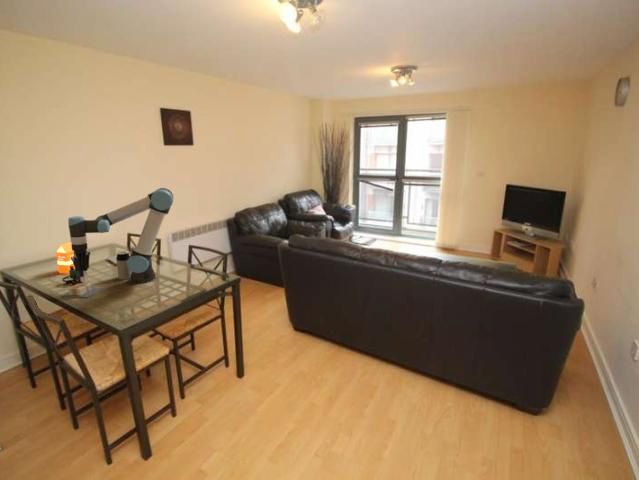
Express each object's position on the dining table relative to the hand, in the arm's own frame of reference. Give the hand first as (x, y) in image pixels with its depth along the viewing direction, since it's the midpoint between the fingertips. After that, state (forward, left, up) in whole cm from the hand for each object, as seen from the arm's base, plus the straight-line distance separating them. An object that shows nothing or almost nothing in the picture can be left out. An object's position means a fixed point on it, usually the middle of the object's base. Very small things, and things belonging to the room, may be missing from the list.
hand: (84, 281), depth 198 cm
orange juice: (+35, -32, -7) cm, 48 cm away
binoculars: (+16, -11, -7) cm, 21 cm away
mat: (0, +2, -7) cm, 7 cm away
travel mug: (-9, -25, -7) cm, 28 cm away
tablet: (+13, -59, -7) cm, 61 cm away
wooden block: (0, 0, -4) cm, 4 cm away
